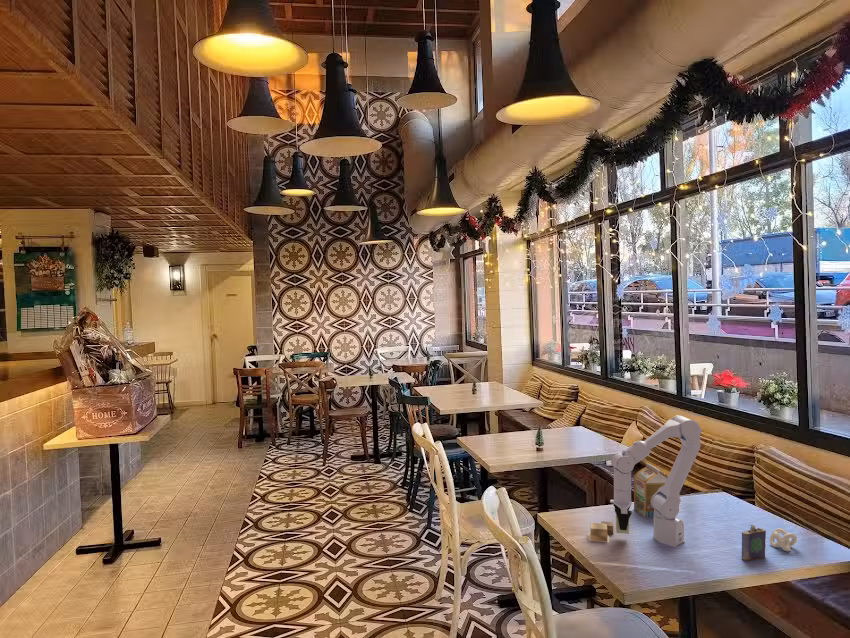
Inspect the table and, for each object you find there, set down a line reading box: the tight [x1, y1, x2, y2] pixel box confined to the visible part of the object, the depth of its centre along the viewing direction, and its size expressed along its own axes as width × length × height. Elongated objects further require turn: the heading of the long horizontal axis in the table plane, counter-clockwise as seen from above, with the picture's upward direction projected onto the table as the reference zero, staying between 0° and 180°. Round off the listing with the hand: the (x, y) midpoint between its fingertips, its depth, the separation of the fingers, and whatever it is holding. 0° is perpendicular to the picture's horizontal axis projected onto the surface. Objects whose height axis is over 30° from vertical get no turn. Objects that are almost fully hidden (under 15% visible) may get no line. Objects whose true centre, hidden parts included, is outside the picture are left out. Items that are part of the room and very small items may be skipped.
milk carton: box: [633, 462, 668, 519], centre depth 234 cm, size 11×11×19 cm
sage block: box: [615, 514, 630, 535], centre depth 207 cm, size 4×4×5 cm
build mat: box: [587, 532, 610, 543], centre depth 209 cm, size 14×14×1 cm
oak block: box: [589, 522, 607, 542], centre depth 209 cm, size 6×6×4 cm
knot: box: [768, 527, 798, 552], centre depth 201 cm, size 8×8×6 cm
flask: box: [741, 524, 767, 562], centre depth 193 cm, size 9×3×11 cm, turn 110°
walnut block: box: [600, 520, 614, 535], centre depth 214 cm, size 4×4×3 cm
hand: (622, 527), depth 207 cm, fingers closed on sage block, 4 cm apart
